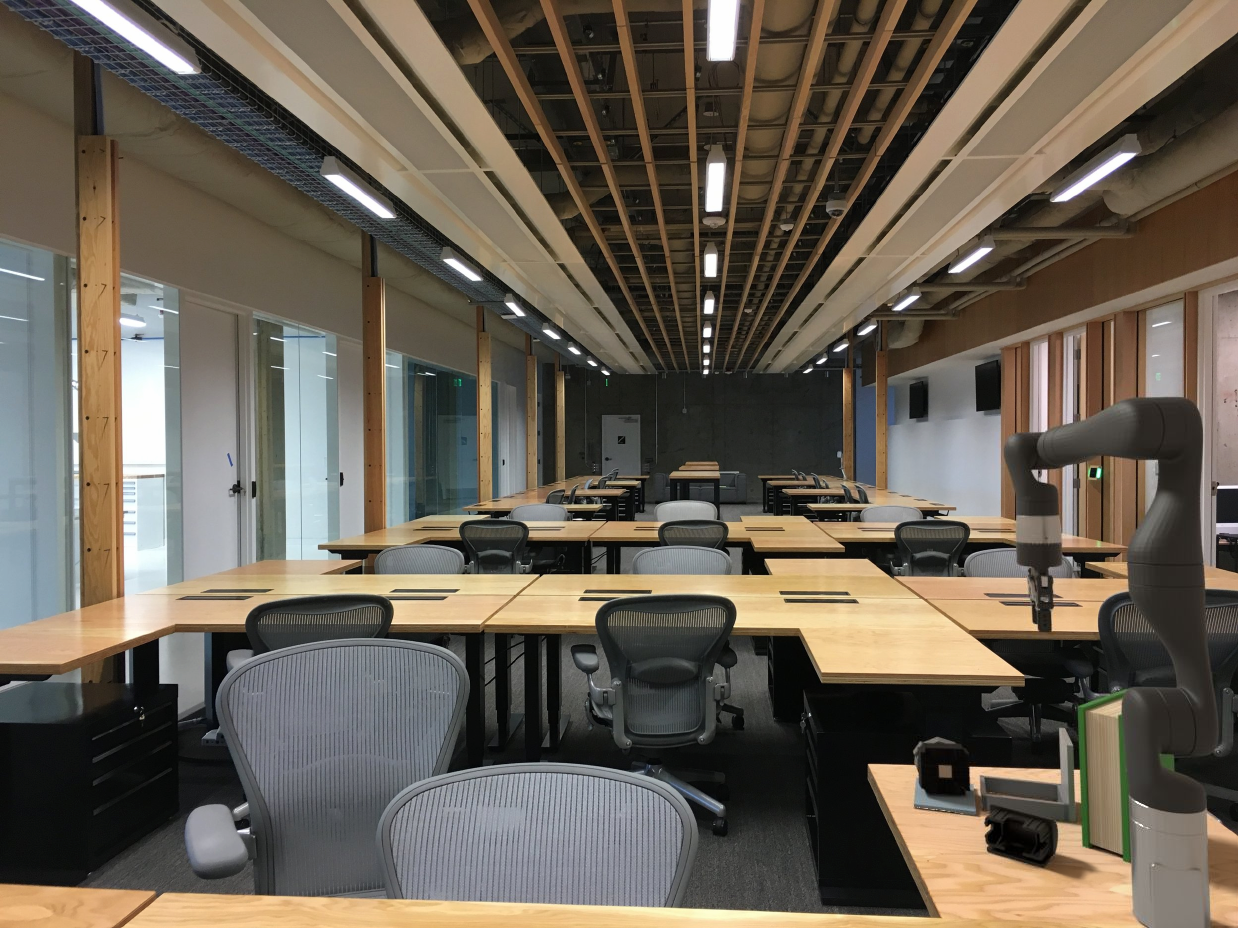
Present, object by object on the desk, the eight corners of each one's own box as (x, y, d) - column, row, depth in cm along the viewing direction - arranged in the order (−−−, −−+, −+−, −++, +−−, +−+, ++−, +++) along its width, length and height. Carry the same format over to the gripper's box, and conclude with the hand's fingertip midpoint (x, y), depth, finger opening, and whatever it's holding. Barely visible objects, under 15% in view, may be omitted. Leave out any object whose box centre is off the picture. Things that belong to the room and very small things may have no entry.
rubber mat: (976, 815, 150) (975, 811, 150) (913, 807, 154) (913, 803, 154) (973, 787, 163) (973, 783, 163) (916, 781, 167) (916, 777, 167)
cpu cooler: (967, 787, 161) (965, 737, 162) (974, 798, 156) (972, 746, 156) (913, 785, 163) (912, 735, 163) (918, 796, 158) (917, 745, 158)
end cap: (1059, 854, 135) (1058, 813, 135) (1046, 869, 130) (1045, 828, 130) (997, 836, 142) (996, 798, 142) (982, 850, 137) (981, 811, 137)
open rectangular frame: (1075, 822, 146) (1073, 745, 147) (982, 810, 152) (980, 737, 152) (1067, 799, 156) (1064, 728, 156) (980, 789, 162) (977, 720, 162)
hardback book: (1129, 862, 131) (1124, 716, 131) (1082, 845, 137) (1077, 706, 138) (1176, 833, 141) (1171, 697, 141) (1131, 819, 147) (1126, 688, 147)
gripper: (1067, 542, 139) (1071, 635, 139) (1056, 537, 153) (1059, 622, 152) (1019, 542, 142) (1023, 633, 142) (1012, 537, 155) (1015, 620, 155)
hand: (1041, 627), depth 147 cm, fingers open, 8 cm apart
